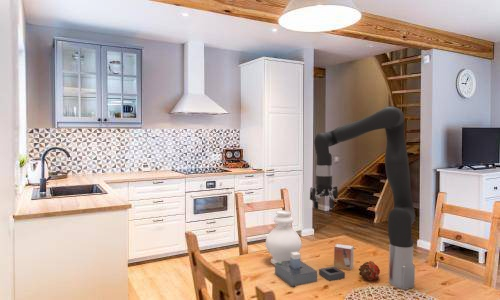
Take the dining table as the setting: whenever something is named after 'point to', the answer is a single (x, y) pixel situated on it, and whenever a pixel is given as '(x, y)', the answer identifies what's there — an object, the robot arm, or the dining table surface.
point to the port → (295, 273)
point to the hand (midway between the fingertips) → (323, 208)
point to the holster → (331, 273)
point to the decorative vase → (283, 238)
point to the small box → (343, 256)
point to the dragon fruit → (369, 271)
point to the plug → (295, 260)
